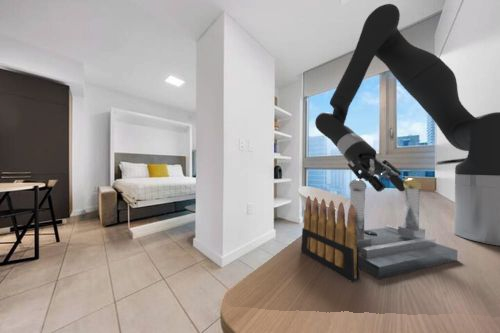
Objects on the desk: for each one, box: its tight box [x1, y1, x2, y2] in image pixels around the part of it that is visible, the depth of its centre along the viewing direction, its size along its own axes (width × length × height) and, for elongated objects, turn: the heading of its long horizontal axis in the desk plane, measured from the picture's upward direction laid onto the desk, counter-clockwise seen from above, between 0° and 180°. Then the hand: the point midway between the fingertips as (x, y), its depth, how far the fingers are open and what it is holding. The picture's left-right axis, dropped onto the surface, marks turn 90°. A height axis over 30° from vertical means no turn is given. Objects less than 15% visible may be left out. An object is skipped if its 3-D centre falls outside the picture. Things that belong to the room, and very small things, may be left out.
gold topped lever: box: [384, 177, 426, 240], centre depth 41 cm, size 4×7×14 cm, turn 17°
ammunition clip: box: [300, 195, 360, 283], centre depth 31 cm, size 11×2×12 cm, turn 30°
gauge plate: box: [358, 227, 458, 280], centre depth 36 cm, size 22×13×3 cm, turn 107°
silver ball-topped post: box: [348, 178, 371, 251], centre depth 36 cm, size 4×7×14 cm, turn 17°
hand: (394, 189), depth 42 cm, fingers open, 8 cm apart
